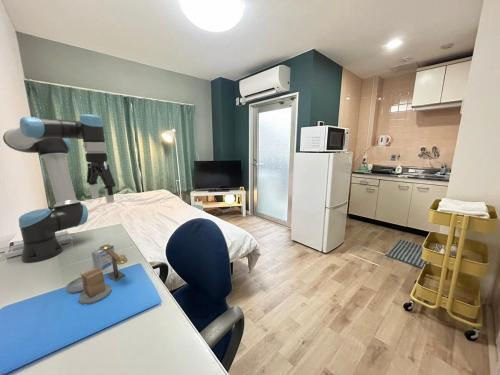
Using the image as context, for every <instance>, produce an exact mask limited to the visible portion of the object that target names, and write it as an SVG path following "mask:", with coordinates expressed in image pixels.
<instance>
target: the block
mask: <svg viewBox="0 0 500 375" xmlns="http://www.w3.org/2000/svg"><path fill="white" fill-rule="evenodd" d="M80 277H82V282H83V288H84V293H85V294H86V295H87V296H89V297H90V298H92V297H94V296H96V295H97V294H99V293H101V292H103V291H105V290H106V289H105V276H104V271H103V270H100V269H98V268H94V267H93V268H92V269H90V270H88V271H85V272H83V273H81V274H80Z"/></svg>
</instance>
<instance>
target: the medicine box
mask: <svg viewBox="0 0 500 375" xmlns="http://www.w3.org/2000/svg"><path fill="white" fill-rule="evenodd" d="M110 245H111V248H110V249H111V250H112V251H113V252H115V253H116V250H115V246H114V244H110ZM91 257H92V262H93V269H94V268H98V269H100V270H101V271H103V270H105V269H106V268H108V267H109V266H111V265H113V264H112V257H111V256H110V255H109V254H108V253H107V252H106V251H105V250H100V247H99V248H97V249H96V250H94V251H92V252H91Z"/></svg>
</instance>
